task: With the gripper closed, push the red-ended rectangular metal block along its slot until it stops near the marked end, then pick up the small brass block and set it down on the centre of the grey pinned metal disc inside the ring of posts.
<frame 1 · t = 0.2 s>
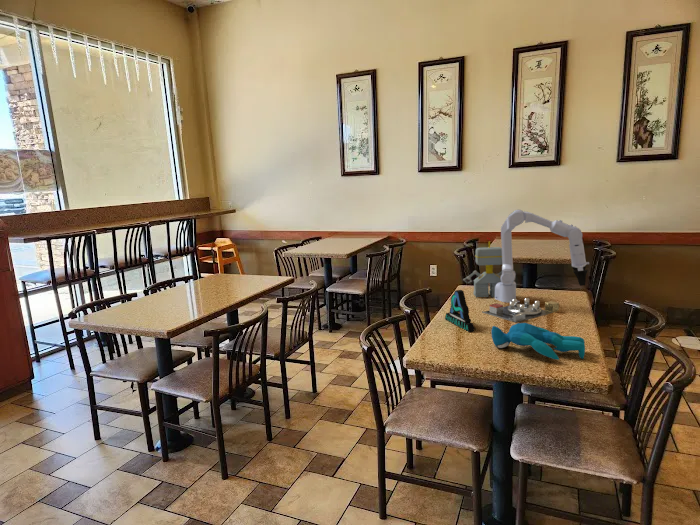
hand: (581, 283, 205), 11 cm above the table, tool pointing down, fingers open, 7 cm apart
base plate: (517, 314, 200), on the table
toy: (488, 296, 233), on the table
red-ended rectangular metal block: (496, 313, 199), point 1 cm above the table, touching base plate
toy 2: (535, 352, 158), on the table
decorative sign: (459, 326, 189), on the table
link block: (551, 311, 202), on the table
pinned metal disc: (524, 312, 202), resting on base plate
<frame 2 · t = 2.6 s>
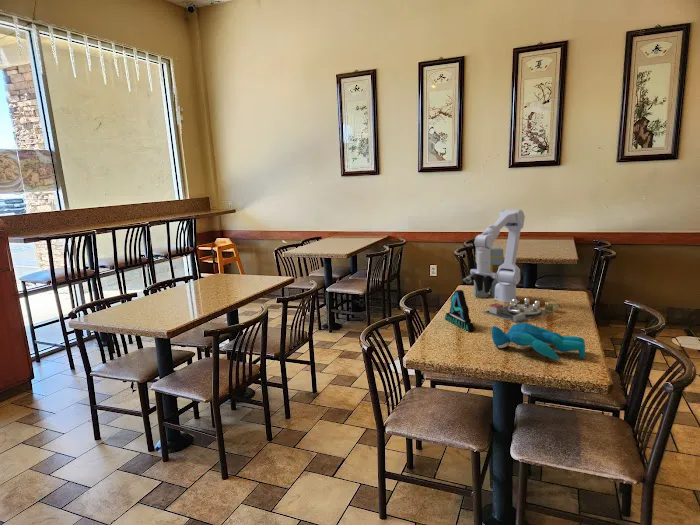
hand: (483, 291, 204), 9 cm above the table, tool pointing down, fingers open, 4 cm apart
nothing on the table moved.
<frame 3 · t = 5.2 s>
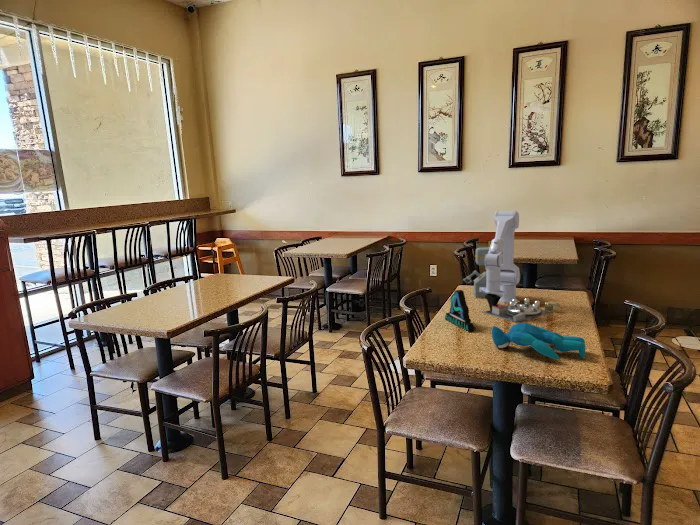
hand: (493, 310, 201), 2 cm above the table, tool pointing down, fingers closed
red-ended rectangular metal block: (498, 314, 198), point 1 cm above the table, touching gripper
everything else where it was.
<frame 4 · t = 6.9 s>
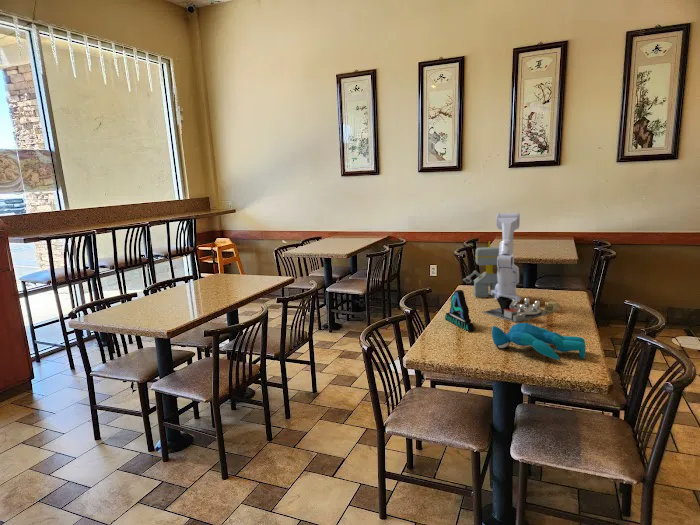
hand: (504, 314, 195), 2 cm above the table, tool pointing down, fingers closed
red-ended rectangular metal block: (511, 318, 192), point 1 cm above the table, touching base plate, gripper
everything else where it was.
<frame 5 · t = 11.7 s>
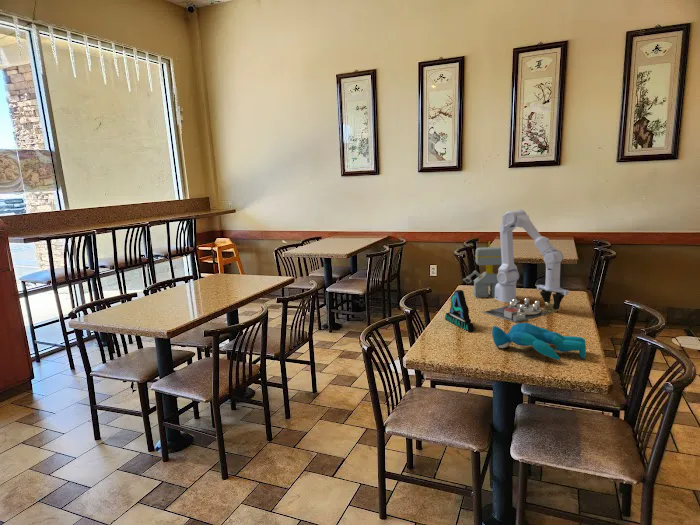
hand: (551, 308, 202), 1 cm above the table, tool pointing down, fingers closed on link block, 4 cm apart
red-ended rectangular metal block: (511, 318, 192), point 1 cm above the table, touching base plate
link block: (551, 311, 202), on the table, touching gripper
everything else where it was.
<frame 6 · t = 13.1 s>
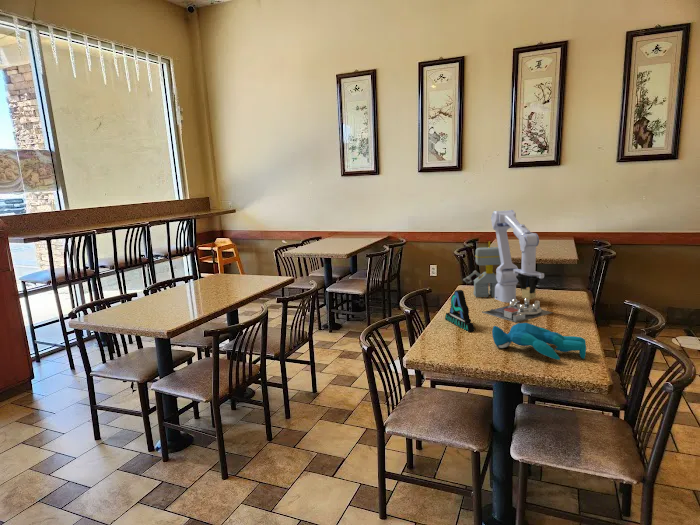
hand: (527, 291, 200), 9 cm above the table, tool pointing down, fingers closed on link block, 4 cm apart
link block: (528, 297, 201), point 7 cm above the table, touching gripper
everything else where it was.
when the fingers open (6 cm above the table, at t = 14.3 s): link block drops 1 cm, resting on pinned metal disc.
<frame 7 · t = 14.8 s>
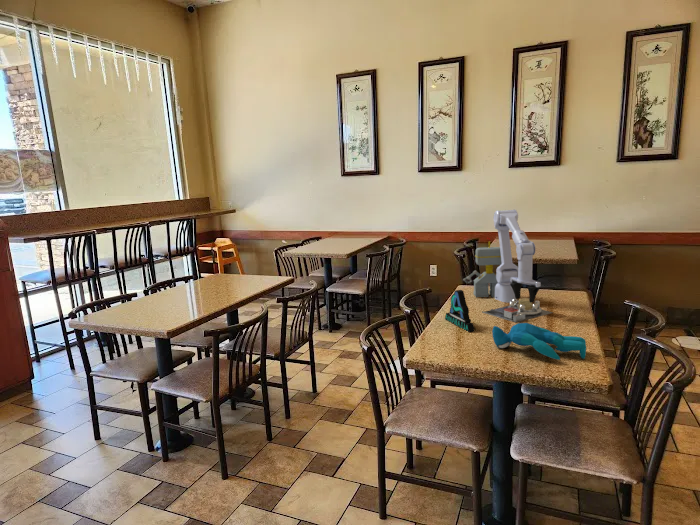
hand: (524, 300, 201), 6 cm above the table, tool pointing down, fingers open, 7 cm apart
link block: (525, 308, 201), point 2 cm above the table, touching pinned metal disc
everything else where it was.
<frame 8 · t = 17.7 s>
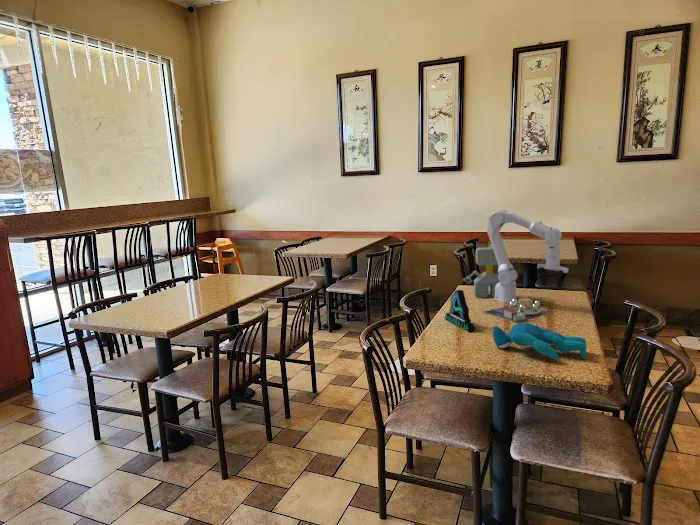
hand: (551, 285, 206), 10 cm above the table, tool pointing down, fingers open, 7 cm apart
nothing on the table moved.
at the end: red-ended rectangular metal block 0.9 cm from the target spot, point 0.8 cm above the table; link block 0.6 cm off-centre on the pinned metal disc, point 2.0 cm above the pinned metal disc's base; the gripper is holding nothing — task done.
